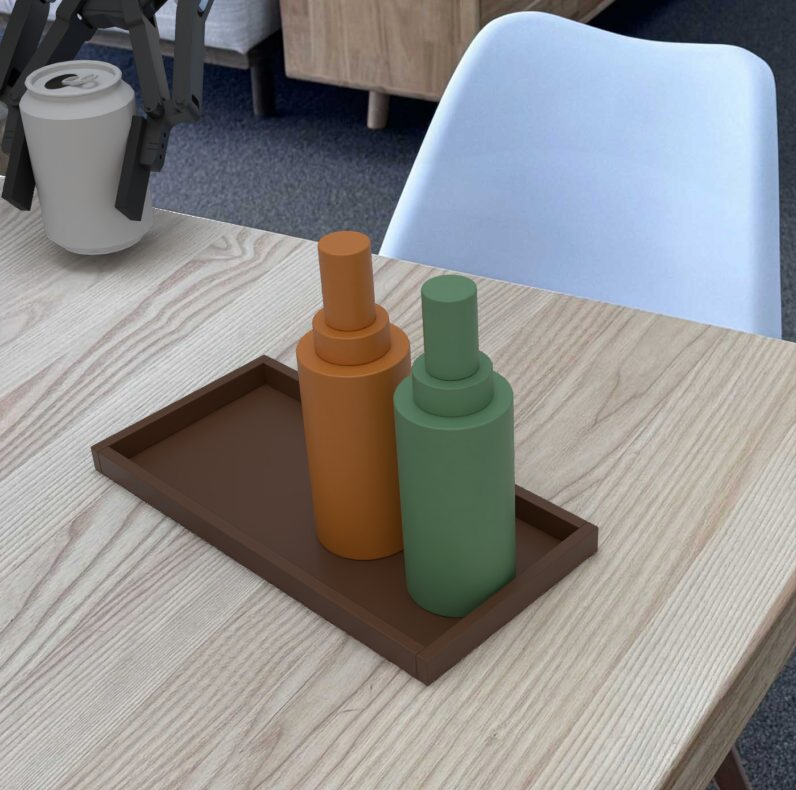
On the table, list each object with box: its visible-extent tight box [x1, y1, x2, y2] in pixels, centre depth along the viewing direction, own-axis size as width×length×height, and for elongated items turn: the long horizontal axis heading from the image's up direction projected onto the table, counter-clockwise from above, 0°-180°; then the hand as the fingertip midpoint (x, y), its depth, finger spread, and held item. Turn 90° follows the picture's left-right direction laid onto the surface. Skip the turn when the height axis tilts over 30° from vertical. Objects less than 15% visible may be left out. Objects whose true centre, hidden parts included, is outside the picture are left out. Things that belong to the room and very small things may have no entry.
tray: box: [89, 354, 599, 687], centre depth 74 cm, size 25×12×2 cm, turn 49°
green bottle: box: [393, 274, 516, 618], centre depth 64 cm, size 5×5×16 cm
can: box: [19, 59, 155, 256], centre depth 96 cm, size 8×8×12 cm
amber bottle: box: [295, 230, 412, 560], centre depth 68 cm, size 5×5×16 cm
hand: (71, 208), depth 95 cm, fingers closed on can, 7 cm apart
